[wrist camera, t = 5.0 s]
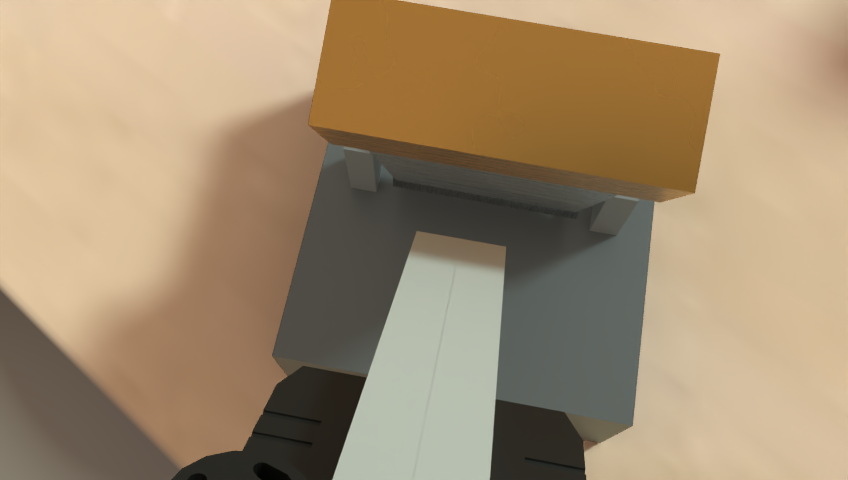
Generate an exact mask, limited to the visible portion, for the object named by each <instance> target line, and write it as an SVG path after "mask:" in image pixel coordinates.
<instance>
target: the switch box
mask: <svg viewBox="0 0 848 480" xmlns="http://www.w3.org/2000/svg"><path fill="white" fill-rule="evenodd" d="M653 210H654V201H649V200H643V199H638V198H632V197H627V196H621V195H618V196H615V197H613V198H610V199H608V200H605V201H603V202H600V203H598V204H595V205H593V206H590V207H588V208H585V209H583V210H580V212H579V215H578V217H577V219H572V218H566V217H561V216H555V215H549V214H544V213H538V212H533V211H527V210H522V209H516V208H510V207H505V206H499V205H494V204H488V203H483V202H477V201H471V200H466V199H460V198H455V197H449V196H444V195H438V194H433V193H427V192H421V191H416V190H410V189H405V188H399V187H394V186H393V176H392V175H391V174H390V173H389V172H388V171H387V170H386V169H385V168H384V167H383V165H382V164H381V163H380V162H379V161H378V160H377V159H376V158H375V157H374V156H373V155H372V154H371V153H370V152H369V151H367V150H361V149H356V148H350V147H345V146H339V145H333V144H331V143H330V142H328V146H327V150H326V154H325V157H324V161H323V165H322V169H321V172H320V176H319V180H318V184H317V188H316V191H315V195H314V199H313V203H312V207H311V210H310V214H309V218H308V222H307V226H306V229H305V233H304V237H303V241H302V244H301V248H300V252H299V256H298V260H297V263H296V267H295V271H294V275H293V279H292V282H291V286H290V290H289V294H288V297H287V301H286V305H285V309H284V313H283V316H282V320H281V324H280V328H279V332H278V335H277V339H276V343H275V347H274V350H273V354H272V356H273V358H274V359H275V360H276V362H277V363H278V364H279V365H280V367H281V368H282V369H283V371H284V372H285V373H286V374H287V376H289V375H291V374H292V373H294V372H295V371H296V370H298V369H299V368H301V367H302V366H308V367H313V368H318V369H324V370H329V371H334V372H340V373H345V374H350V375H356V376H361V377H366V378H367V376H368V373H369V370H370V367H371V364H372V361H373V358H374V356H375V353H376V350H377V347H378V344H379V341H380V338H381V335H382V332H383V329H384V326H385V323H386V320H387V317H388V314H389V311H390V308H391V305H392V302H393V300H394V297H395V294H396V291H397V288H398V285H399V282H400V279H401V276H402V273H403V270H404V267H405V264H406V261H407V258H408V255H409V252H410V250H411V247H412V244H413V241H414V238H415V235H416V232H417V231H420V232H426V233H431V234H437V235H443V236H448V237H454V238H460V239H465V240H471V241H477V242H482V243H488V244H494V245H499V246H505V247H506V257H505V271H504V285H503V300H502V314H501V328H500V342H499V357H498V371H497V385H496V399H498V400H503V401H508V402H514V403H519V404H524V405H530V406H535V407H540V408H546V409H551V410H556V411H562V412H565V414H566V415H567V417H568V418H569V420H570V421H571V423H572V424H573V426H574V427H575V429H576V430H577V432H578V434H579V435H580V437H581V438H582V439H583V440H588V441H593V442H598V443H601V442H603V441H605V440H607V439H609V438H611V437H612V436H614V435H616V434H618V433H620V432H622V431H624V430H626V429H628V428H629V427H631V426H633V417H634V407H635V396H636V386H637V376H638V365H639V355H640V344H641V334H642V324H643V313H644V303H645V293H646V282H647V272H648V262H649V251H650V241H651V231H652V220H653Z"/></svg>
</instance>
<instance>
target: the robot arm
mask: <svg viewBox="0 0 848 480" xmlns="http://www.w3.org/2000/svg"><path fill="white" fill-rule="evenodd" d="M505 257H506V247H505V246H499V245H494V244H488V243H482V242H477V241H471V240H465V239H460V238H454V237H448V236H443V235H437V234H431V233H426V232H420V231H417V232H416V235H415V238H414V241H413V244H412V247H411V250H410V252H409V255H408V258H407V261H406V264H405V267H404V270H403V273H402V276H401V279H400V282H399V285H398V288H397V291H396V294H395V297H394V300H393V302H392V305H391V308H390V311H389V314H388V317H387V320H386V323H385V326H384V329H383V332H382V335H381V338H380V341H379V344H378V347H377V350H376V353H375V356H374V358H373V361H372V364H371V367H370V370H369V373H368V376H367V378H366V377H361V376H356V375H350V374H345V373H340V372H334V371H329V370H324V369H318V368H313V367H308V366H302V367H301V368H299V369H298V370H296V371H295V372H294V373H292V374H291V375H289V376H288V377H287V378H285V379H284V380H282V381H281V382H280V383H278V384H277V385H276V387H275V389H274V391H273V393H272V395H271V397H270V399H269V401H268V403H267V404H266V406H265V408H264V411H263V415H261V416H260V418H259V420H258V422H257V424H256V426H255V428H254V429H253V432H252V436H251V437H249V439H248V441H247V443H246V445H245V447H244V449H243V451H230V452H225V453H220V454H215V455H210V456H206V457H204V458H202V459H200V460H198V461H196V462H194V463H192V464H190V465H188V466H186V467H184V468H182V469H181V470H180V471H179V472H178V473H177V474H176V476H175V477H174V478H173V479H172V480H586V474H585V461H584V450H583V440H582V438H581V437H580V435H579V434H578V432H577V430H576V429H575V427H574V426H573V424H572V423H571V421H570V420H569V418H568V417H567V415H566V414H565V412H562V411H556V410H551V409H546V408H540V407H535V406H530V405H524V404H519V403H514V402H508V401H503V400H498V399H496V385H497V371H498V357H499V342H500V328H501V314H502V300H503V285H504V271H505Z"/></svg>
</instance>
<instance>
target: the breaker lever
mask: <svg viewBox="0 0 848 480" xmlns="http://www.w3.org/2000/svg"><path fill="white" fill-rule="evenodd" d="M719 56H720V54H718V53H712V52H706V51H700V50H694V49H688V48H682V47H676V46H670V45H664V44H658V43H652V42H646V41H640V40H634V39H628V38H622V37H616V36H610V35H604V34H598V33H592V32H585V31H579V30H573V29H567V28H561V27H555V26H549V25H543V24H537V23H531V22H525V21H519V20H513V19H507V18H501V17H495V16H489V15H483V14H477V13H471V12H465V11H459V10H453V9H447V8H441V7H435V6H429V5H423V4H417V3H410V2H404V1H398V0H331V4H330V9H329V15H328V20H327V25H326V31H325V36H324V42H323V47H322V52H321V58H320V63H319V69H318V74H317V79H316V85H315V90H314V96H313V101H312V106H311V112H310V117H309V123H308V125H309V126H310V127H311V128H312V129H314V130H315V131H316V132H317V133H319V134H320V135H321V136H322V137H323V138H325V139H326V140H327V141H328V142H330V143H331V144H333V145H339V146H345V147H350V148H356V149H361V150H367V151H369V152H370V153H371V154H372V155H373V156H374V157H375V158H376V159H377V160H378V161H379V162H380V163H381V164H382V165H383V167H384V168H385V169H386V170H387V171H388V172H389V173H390V174H391V175H392V176H393V186H394V187H399V188H405V189H410V190H416V191H421V192H427V193H433V194H438V195H444V196H449V197H455V198H460V199H466V200H471V201H477V202H483V203H488V204H494V205H499V206H505V207H510V208H516V209H522V210H527V211H533V212H538V213H544V214H549V215H555V216H561V217H566V218H572V219H577V217H578V215H579V212H580V210H583V209H585V208H588V207H590V206H593V205H595V204H598V203H600V202H603V201H605V200H608V199H610V198H613V197H615V196H618V195H621V196H627V197H632V198H638V199H643V200H649V201H655V202H664V201H668V200H671V199H675V198H679V197H682V196H686V195H689V194H693V193H695V189H696V184H697V178H698V173H699V167H700V162H701V156H702V150H703V145H704V139H705V134H706V128H707V123H708V117H709V112H710V106H711V101H712V95H713V90H714V84H715V78H716V73H717V67H718V62H719Z"/></svg>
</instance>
